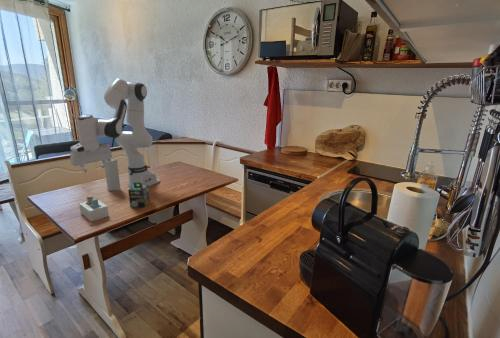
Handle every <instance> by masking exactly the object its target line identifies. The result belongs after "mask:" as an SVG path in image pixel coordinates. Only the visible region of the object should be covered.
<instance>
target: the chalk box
mask: <svg viewBox="0 0 500 338" xmlns="http://www.w3.org/2000/svg"><path fill="white" fill-rule="evenodd" d="M136 184H139V185H136ZM127 191H128V198H129V199H128V200H129V206H130V208H146V207H147V206H148V205H149V203H150V201H151V199H150V190H149V186H148V185H142V183H134V185H133V186H132V187H129V189H128V190H127Z"/></svg>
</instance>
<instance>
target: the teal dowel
mask: <svg viewBox="0 0 500 338" xmlns="http://www.w3.org/2000/svg"><path fill="white" fill-rule="evenodd" d="M98 200H99V199H98V198H93V199H92V200H91V201H92V207H93V209H95V208H98V207H99V204H98Z"/></svg>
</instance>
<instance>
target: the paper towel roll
mask: <svg viewBox="0 0 500 338" xmlns="http://www.w3.org/2000/svg"><path fill="white" fill-rule="evenodd" d="M104 171H105V178H106V179H105V181H106V187H107V190H108V191H109V192H110V191H112V192H113V191H118V190H121V184H120V181H121V180H120V173H119V165H118V160H117V159H116V160H115V158H111V159H107V160H106V163H105V167H104Z"/></svg>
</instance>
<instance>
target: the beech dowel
mask: <svg viewBox="0 0 500 338" xmlns="http://www.w3.org/2000/svg"><path fill="white" fill-rule="evenodd" d="M92 199H94V196H93V195H87V196H86V202H87V203H88V205H92V201H91V200H92Z"/></svg>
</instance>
